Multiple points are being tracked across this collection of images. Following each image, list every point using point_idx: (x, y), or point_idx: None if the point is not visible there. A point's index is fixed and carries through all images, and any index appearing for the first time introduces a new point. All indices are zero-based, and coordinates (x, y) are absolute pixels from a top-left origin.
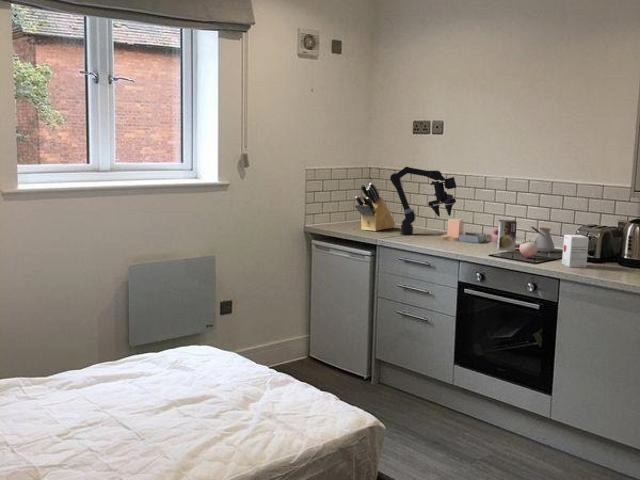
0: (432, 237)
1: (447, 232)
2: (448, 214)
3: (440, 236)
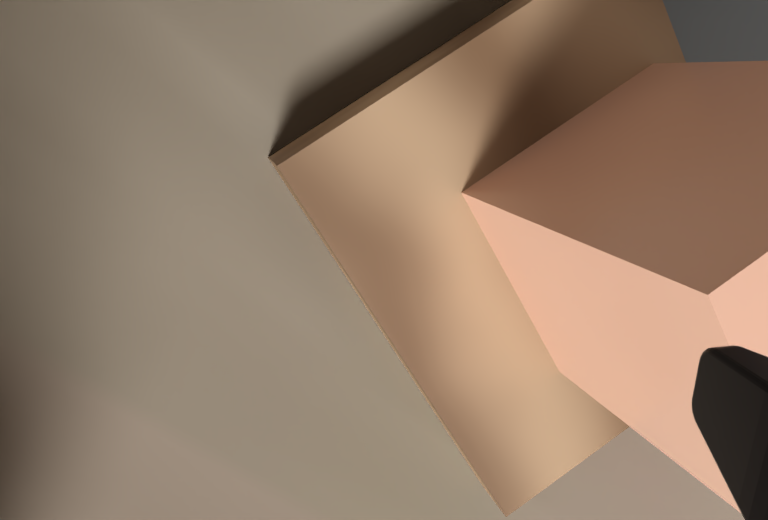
0: (253, 464)
1: (600, 400)
2: (734, 473)
3: (527, 496)
